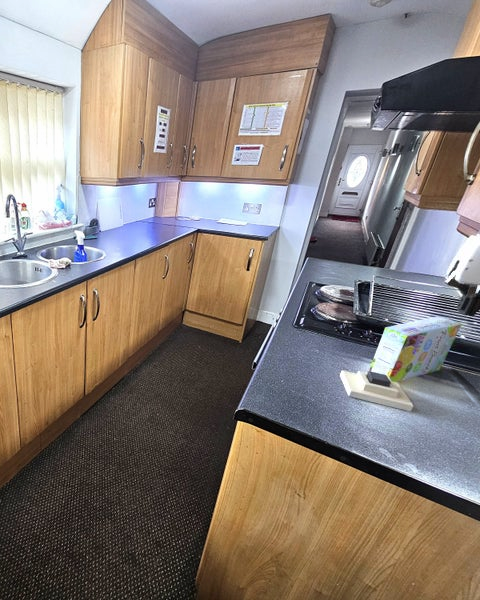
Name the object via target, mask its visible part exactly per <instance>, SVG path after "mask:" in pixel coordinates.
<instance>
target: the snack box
mask: <svg viewBox="0 0 480 600" xmlns="http://www.w3.org/2000/svg"><path fill="white" fill-rule="evenodd" d="M462 325H463V324H462V323H461V322H459V321H455V320H453V319H449V318H447V317H443V316H440V315H437V316H434V317H428V318H424V319H420V320H414V321H410V322H406V323H405V322H404V323H401V324H400V323H399V324H396V325H391V326H386V327H384V330H383V333H382V335H381V338H380V341H379V343H378V346H377V348H376V351H375V354H374V356H373V359H372V362H371V364H370V367H369V369H368V371H371V372H375V373H380V374H385V375H387V377H389V378H390V379H391V381H392V382H396V383H398V382H400V381H404V380H408V379H411V378H415V377H419V376H423V375H428V374H430V373H433V372H439V371H440V370H441V368H442V366H443V364H444V362H445V360H446V358H447V355H448V353H449V352H450V349H451V348H452V345H453V344H454V341H455V339H456V337H457V335H458V333H459V331H460V329H461V327H462Z"/></svg>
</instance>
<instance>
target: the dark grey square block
mask: <svg viewBox="0 0 480 600" xmlns="http://www.w3.org/2000/svg"><path fill="white" fill-rule="evenodd" d="M366 373H367V376H366V377H367V379H368V381H369V383H372V384H376V385H380V386H385V387H389V386H390V384H391V382H390V380H389V379H388V377H387V375H385V374H380V373H375V372H371V371H369V370H368V371H367V372H366Z"/></svg>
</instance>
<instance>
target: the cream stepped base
mask: <svg viewBox="0 0 480 600" xmlns="http://www.w3.org/2000/svg"><path fill="white" fill-rule="evenodd" d="M367 373H368V372H366V371H360V370H358V371H357V372H351V371H347V370H343V369H342V370H341V372H340V374H339V377H340V379H341V381H342V384H343V386H344V388H345V391H346V393H347V395H348V397H351V398H354V399H358V400H362V401H367V402H371V403H375V404H378V405H383V406H387V407H391V408H395V409H398V410H403V411H406V412H412V410H413V408H414V404H413V403H412V401H411V400H410V398H409V396H408V395H407V394H406V392H405V391H404V390H403V388H402V386H401V385H400V383H399V382H392V381H391V379H390V378H389V377H388V379H389V380H390V382H391V384H390V386H389V387H385V386H380V385H376V384H372V383H369V381H368V379H367V377H366V376H367Z"/></svg>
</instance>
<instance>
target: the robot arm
mask: <svg viewBox="0 0 480 600" xmlns="http://www.w3.org/2000/svg"><path fill="white" fill-rule="evenodd" d="M446 276H448V277H447V278H446V279H445V281H444V284H445V285H447V286H448V287H449V286H450V287H452V288H456V289H457V290H458V291H459V293H460V294H461V297H460V299H459V301H458V303H457V305H456V311H457V312H458V313H460V314H461V315H463V316H470V317H476V314H477V313H480V229H479V230H478V232H477V233H476V235H475V234H474V235H473V234H472V235H470V236H469V237H468V238H467V239H466V241H465V242H464V243H463V244H462V246H461V247H460V249H459V250H458V252H457V253H456V254H455V256H454V258H453V259H452V262H451V263H450V265H449V267H448V269H447V272H446ZM478 287H479V288H478Z"/></svg>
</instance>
